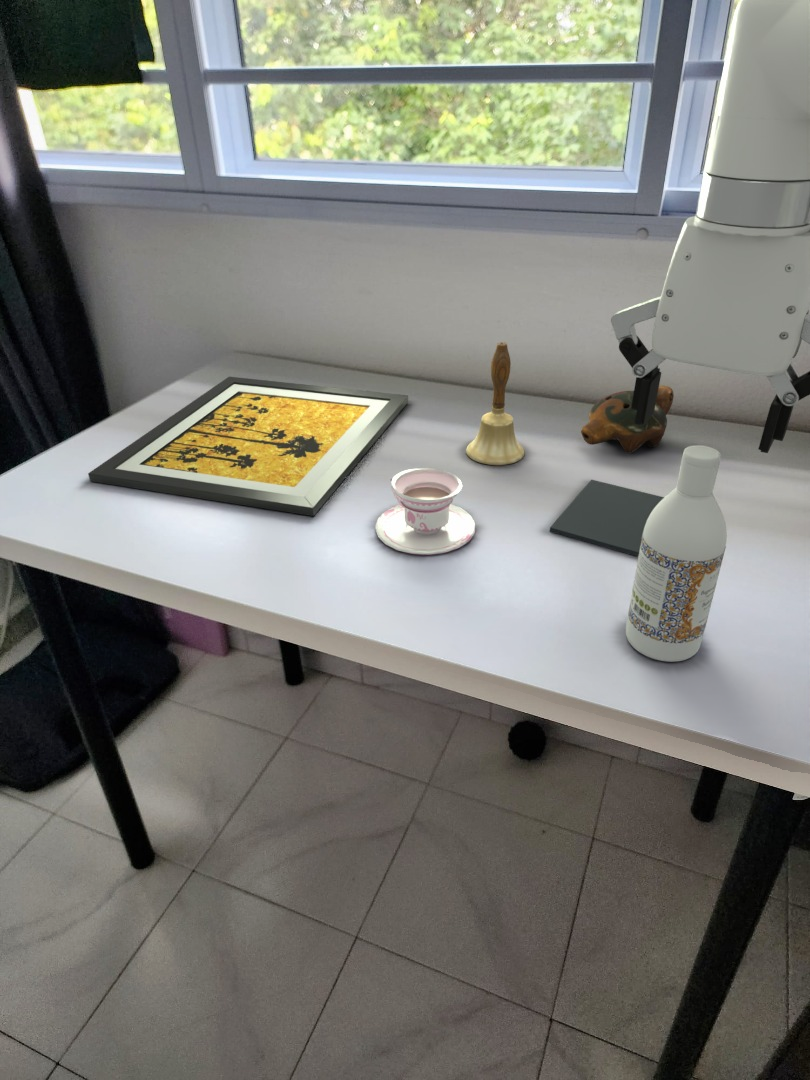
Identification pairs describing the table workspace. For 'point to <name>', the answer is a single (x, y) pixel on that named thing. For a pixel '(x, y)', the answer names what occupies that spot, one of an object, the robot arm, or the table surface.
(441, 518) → the teacup
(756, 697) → the table surface
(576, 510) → the mat
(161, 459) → the picture frame
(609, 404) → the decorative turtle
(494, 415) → the hand bell
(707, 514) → the bath foam
